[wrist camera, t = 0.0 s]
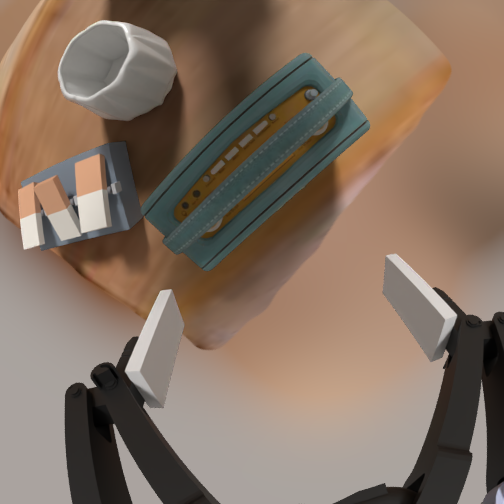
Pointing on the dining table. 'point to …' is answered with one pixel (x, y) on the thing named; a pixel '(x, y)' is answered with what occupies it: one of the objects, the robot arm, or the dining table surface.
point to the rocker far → (30, 217)
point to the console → (120, 200)
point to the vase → (117, 70)
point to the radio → (255, 161)
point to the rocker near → (92, 194)
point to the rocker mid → (58, 208)
